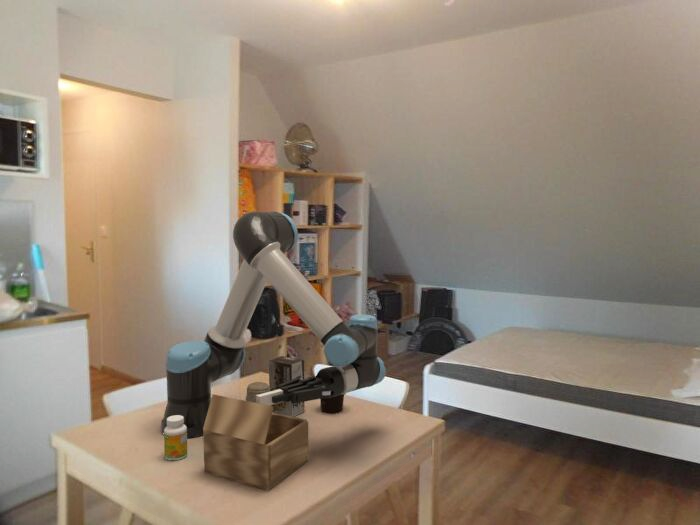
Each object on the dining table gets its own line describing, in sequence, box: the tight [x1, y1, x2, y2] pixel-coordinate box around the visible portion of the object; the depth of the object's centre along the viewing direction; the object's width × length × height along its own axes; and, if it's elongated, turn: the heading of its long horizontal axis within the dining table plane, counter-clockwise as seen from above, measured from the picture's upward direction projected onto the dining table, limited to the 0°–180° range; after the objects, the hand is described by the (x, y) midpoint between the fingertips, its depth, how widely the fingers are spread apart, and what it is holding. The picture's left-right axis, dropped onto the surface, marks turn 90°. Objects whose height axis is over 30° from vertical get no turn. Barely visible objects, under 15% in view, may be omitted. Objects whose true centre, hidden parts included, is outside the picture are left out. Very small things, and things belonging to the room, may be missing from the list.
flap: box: [203, 393, 274, 445], centre depth 118 cm, size 17×8×1 cm
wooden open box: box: [202, 412, 309, 492], centre depth 125 cm, size 19×17×10 cm
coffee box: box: [268, 355, 305, 417], centre depth 160 cm, size 9×6×16 cm
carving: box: [245, 381, 271, 406], centre depth 150 cm, size 6×8×12 cm
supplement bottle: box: [163, 415, 188, 461], centre depth 130 cm, size 5×5×10 cm
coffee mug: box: [319, 394, 345, 415], centre depth 164 cm, size 12×9×10 cm
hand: (257, 401), depth 120 cm, fingers closed
